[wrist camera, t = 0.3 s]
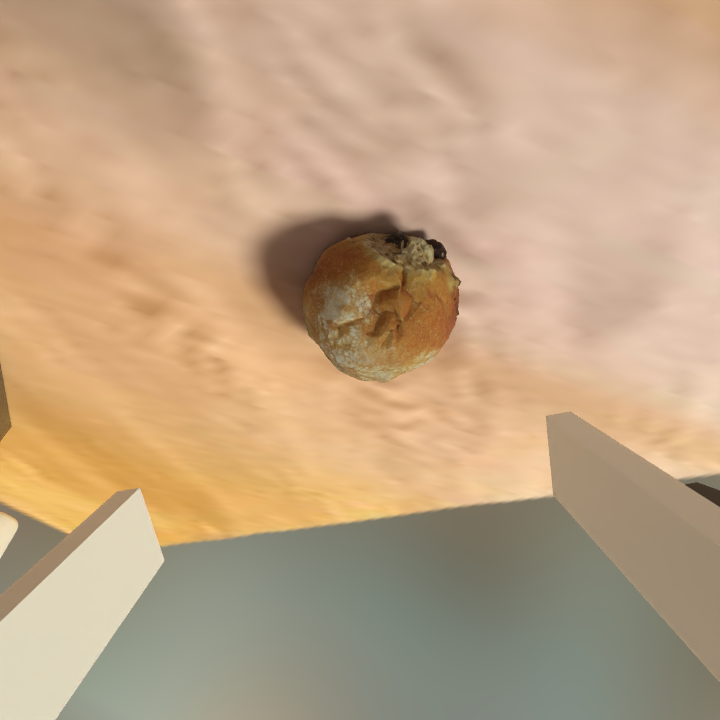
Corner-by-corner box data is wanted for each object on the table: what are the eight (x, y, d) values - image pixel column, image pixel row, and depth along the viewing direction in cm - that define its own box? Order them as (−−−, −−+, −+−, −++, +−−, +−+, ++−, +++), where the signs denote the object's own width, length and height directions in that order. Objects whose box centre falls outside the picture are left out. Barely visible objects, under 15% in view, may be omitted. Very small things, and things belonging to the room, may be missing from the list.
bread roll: (298, 238, 28) (246, 327, 24) (419, 179, 21) (372, 292, 17) (379, 324, 33) (347, 406, 29) (495, 300, 26) (472, 404, 23)
